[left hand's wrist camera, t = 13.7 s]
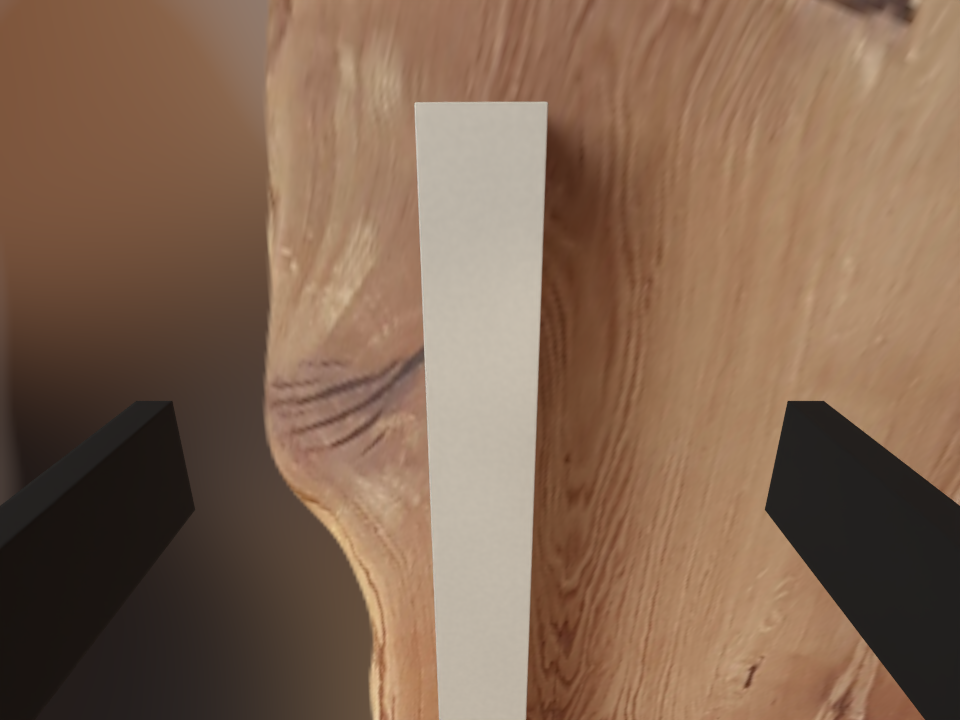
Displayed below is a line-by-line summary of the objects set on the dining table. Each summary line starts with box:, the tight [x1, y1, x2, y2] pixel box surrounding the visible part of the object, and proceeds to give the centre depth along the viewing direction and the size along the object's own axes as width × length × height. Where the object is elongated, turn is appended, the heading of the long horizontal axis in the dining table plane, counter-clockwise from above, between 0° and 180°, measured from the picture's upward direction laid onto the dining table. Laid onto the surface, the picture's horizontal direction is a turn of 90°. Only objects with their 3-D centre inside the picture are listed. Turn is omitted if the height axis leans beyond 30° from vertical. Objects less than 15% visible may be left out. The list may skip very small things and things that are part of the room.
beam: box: [414, 102, 548, 720], centre depth 41 cm, size 75×6×8 cm, turn 0°
